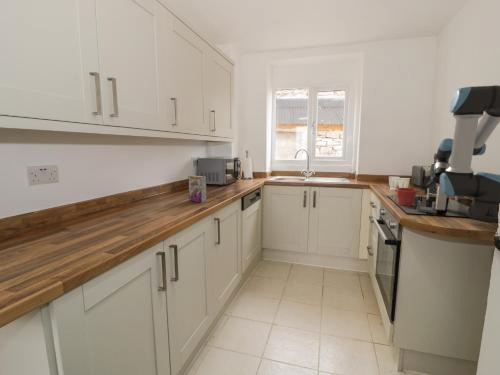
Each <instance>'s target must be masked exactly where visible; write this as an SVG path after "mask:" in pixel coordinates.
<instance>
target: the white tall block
mask: <svg viewBox="0 0 500 375" xmlns="http://www.w3.org/2000/svg"><path fill="white" fill-rule="evenodd" d="M447 196H448V195H444V194H443V193H442V191H441V188H440V185H437V192H436V201H435V203H436V211H437V210H438V211H446V207H447V206H446V205H447V198H448V197H447Z"/></svg>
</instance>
